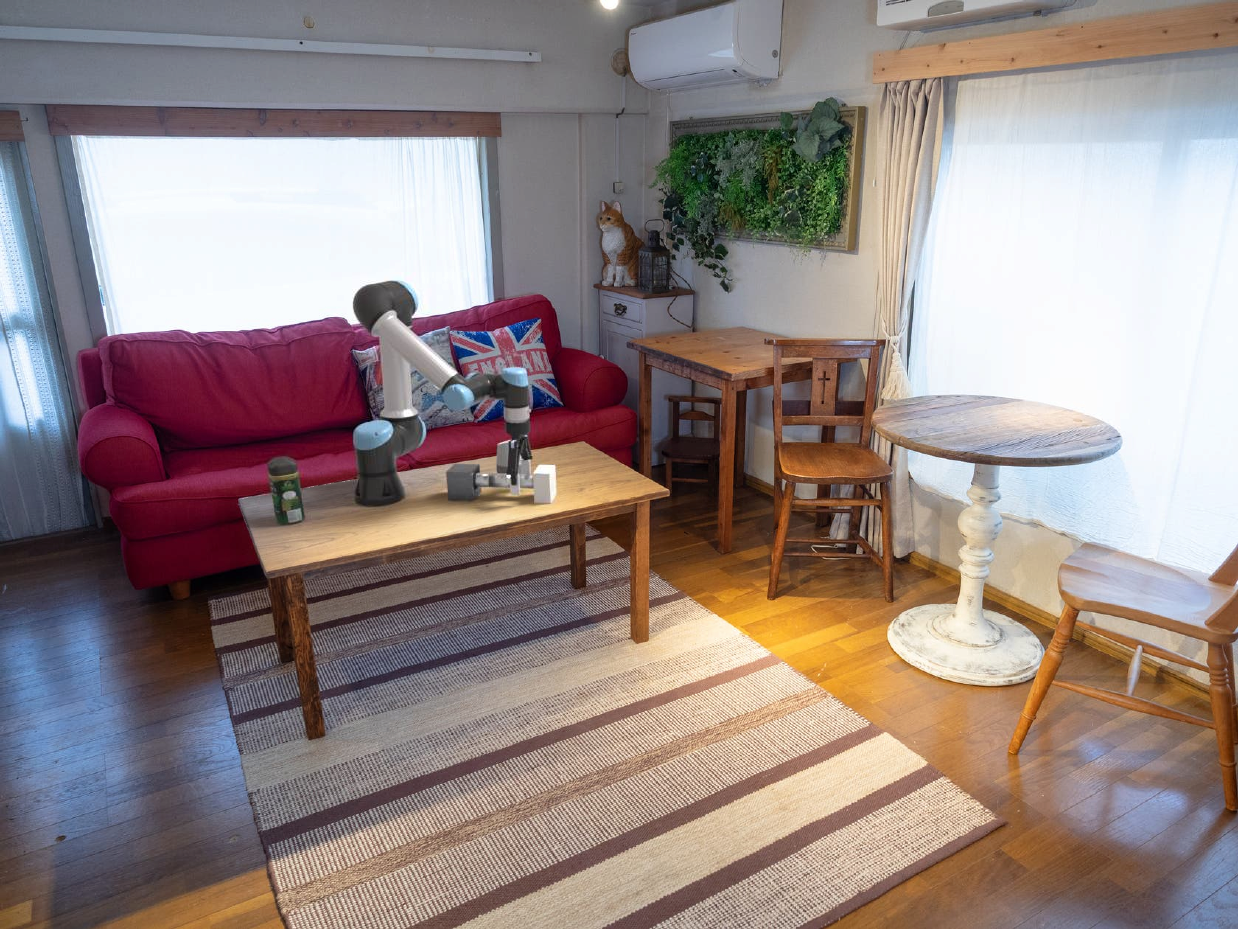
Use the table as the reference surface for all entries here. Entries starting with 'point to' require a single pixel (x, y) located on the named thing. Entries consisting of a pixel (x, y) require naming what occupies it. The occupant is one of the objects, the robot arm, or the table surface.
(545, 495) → the socket block
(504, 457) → the smart speaker
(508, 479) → the tube
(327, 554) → the table surface
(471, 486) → the sleeve
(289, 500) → the coffee jar
